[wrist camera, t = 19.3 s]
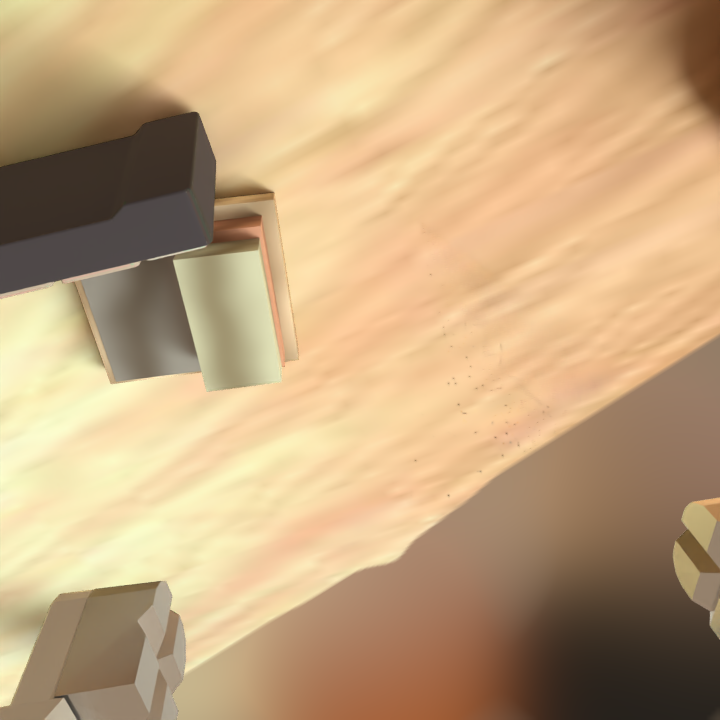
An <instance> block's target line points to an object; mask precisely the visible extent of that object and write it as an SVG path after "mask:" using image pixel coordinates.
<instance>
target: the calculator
mask: <svg viewBox="0 0 720 720" xmlns="http://www.w3.org/2000/svg"><path fill="white" fill-rule="evenodd" d="M215 177H216V160H215V157H214V154H213V151H212V148H211V146H210V143H209V140H208V137H207V134H206V132H205V129H204V126H203V124H202V121H201V118H200V116H199V113H197V112H190V113H186V114H182V115H178V116H174V117H169V118H165V119H161V120H157V121H153V122H148V123H145V124H143V125H142V127H141V128H140V129H139V130H138V131H137V133H136V134H135V135H133V136H130V137H126V138H122V139H118V140H113V141H109V142H105V143H101V144H97V145H92V146H88V147H84V148H80V149H75V150H71V151H67V152H63V153H59V154H54V155H50V156H46V157H42V158H38V159H33V160H29V161H25V162H21V163H16V164H12V165H8V166H4V167H0V299H2V298H6V297H11V296H15V295H19V294H23V293H28V292H32V291H36V290H40V289H45V288H48V287H51V286H52V285H53V284H54V282H55V281H59V280H61V281H62V283H70V282H74V281H78V280H83V279H87V278H91V277H95V276H99V275H104V274H108V273H112V272H116V271H121V270H125V269H129V268H133V267H136V266H138V265H139V264H140V262H141V261H143V260H155V259H159V258H163V257H167V256H172V255H176V254H180V253H184V252H189V251H193V250H197V249H201V248H204V247H206V246H207V245H209V244H210V243H211V242H212V241H213V230H214V203H215Z"/></svg>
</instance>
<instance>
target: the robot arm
mask: <svg viewBox="0 0 720 720" xmlns="http://www.w3.org/2000/svg"><path fill="white" fill-rule="evenodd" d="M682 522H683V523H684V524H685V525H686V527H687V528H688V529H687V530H686V531H685V532H684V533H683V534H682V535H681V536H680V537H679V538H678V539H677V540H676V542H675V547H674V552H673V560H674V566H675V571H676V574H677V576H678V579H679V581H680V583H681V585H682V587H683V588H684V590H685V591H686V593H687V594H688V596H689V597H690V598H691V600H692V601H694V602H696V603H697V604H699V605H701V606H702V607H704V608H706V609H707V610H709V611H710V627H711V628H712V630H713V631H714V632H715V634H716V635H717V636H718V638H719V639H720V498H714V499H708V500H702V501H696V502H691V503H690V504H689V505H688V506H687V507H686V508H685V509H684V513H683V517H682ZM171 600H172V594H171V591H170V589H169V587H168V584H167V582H166V581H157V582H149V583H141V584H132V585H124V586H116V587H108V588H99V589H94V590H86V591H78V592H71V593H63V594H59V596H58V597H57V598H56V599H55V600H54V601H53V602H52V604H51V605H50V608H49V610H48V613H47V615H46V618H45V620H44V623H43V625H42V628H41V630H40V633H39V635H38V637H37V640H36V642H35V645H34V647H33V650H32V652H31V655H30V657H29V660H28V662H27V665H26V667H25V670H24V672H23V674H22V677H21V679H20V682H19V684H18V687H17V689H16V692H15V694H14V697H13V699H12V702H11V704H10V705H9V706H4V707H0V720H177V716H178V709H177V706H176V704H175V702H174V699H173V696H172V694H173V692H174V691H175V690H176V688H177V687H178V686H179V685H180V683H181V682H182V681H183V677H184V669H185V662H186V639H185V633H184V628H183V624H182V621H181V618H180V615H178V614H177V613H175V612H173V611H172V610H170V606H171Z"/></svg>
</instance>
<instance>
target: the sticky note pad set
mask: <svg viewBox="0 0 720 720" xmlns="http://www.w3.org/2000/svg"><path fill="white" fill-rule="evenodd" d="M74 282H75V284H76V287H77V290H78V293H79V296H80V299H81V301H82V304H83V307H84V310H85V313H86V315H87V318H88V321H89V324H90V327H91V330H92V332H93V335H94V338H95V341H96V344H97V346H98V349H99V352H100V355H101V358H102V361H103V363H104V366H105V369H106V372H107V375H108V377H109V380H110V383H111V384H115V383H123V382H131V381H138V380H146V379H154V378H162V377H170V376H177V375H185V374H193V373H201V372H202V376H203V379H204V383H205V387H206V391H207V392H209V391H217V390H224V389H232V388H240V387H247V386H255V385H263V384H271V383H278V382H282V367H285V362H287V361H295V360H299V352H298V343H297V337H296V330H295V324H294V317H293V311H292V304H291V298H290V292H289V285H288V279H287V272H286V266H285V259H284V253H283V246H282V240H281V234H280V227H279V221H278V214H277V208H276V201H275V195H274V193H265V194H256V195H247V196H238V197H229V198H221V199H215V203H214V230H213V241H212V242H211V243H210V244H209V245H207V246H206V247H204V248H201V249H197V250H193V251H189V252H184V253H180V254H176V255H172V256H167V257H163V258H159V259H155V260H143V261H141V262H140V264H139V265H138V266H136V267H133V268H129V269H125V270H121V271H116V272H112V273H108V274H104V275H99V276H95V277H91V278H87V279H83V280H78V281H74Z"/></svg>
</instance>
